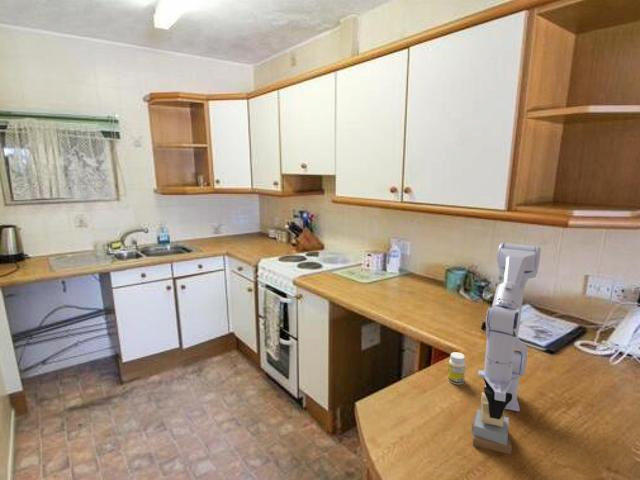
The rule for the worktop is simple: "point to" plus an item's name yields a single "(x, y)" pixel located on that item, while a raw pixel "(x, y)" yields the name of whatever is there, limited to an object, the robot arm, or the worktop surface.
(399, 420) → the worktop surface
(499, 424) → the oak block
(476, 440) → the walnut slab
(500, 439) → the slate slab
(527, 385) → the worktop surface
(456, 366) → the supplement bottle
